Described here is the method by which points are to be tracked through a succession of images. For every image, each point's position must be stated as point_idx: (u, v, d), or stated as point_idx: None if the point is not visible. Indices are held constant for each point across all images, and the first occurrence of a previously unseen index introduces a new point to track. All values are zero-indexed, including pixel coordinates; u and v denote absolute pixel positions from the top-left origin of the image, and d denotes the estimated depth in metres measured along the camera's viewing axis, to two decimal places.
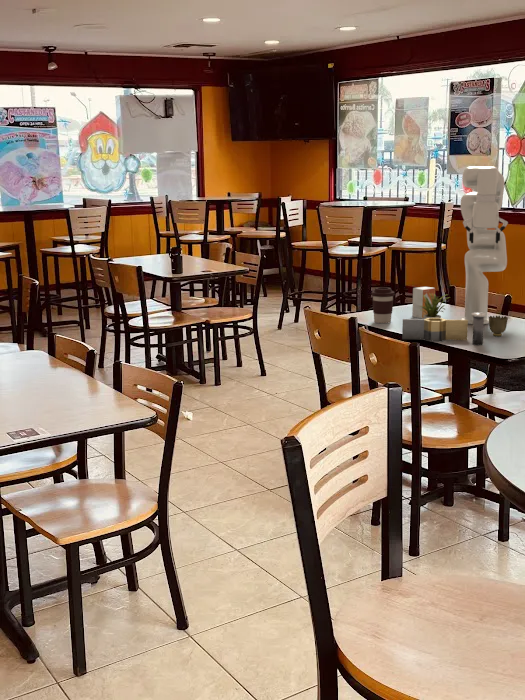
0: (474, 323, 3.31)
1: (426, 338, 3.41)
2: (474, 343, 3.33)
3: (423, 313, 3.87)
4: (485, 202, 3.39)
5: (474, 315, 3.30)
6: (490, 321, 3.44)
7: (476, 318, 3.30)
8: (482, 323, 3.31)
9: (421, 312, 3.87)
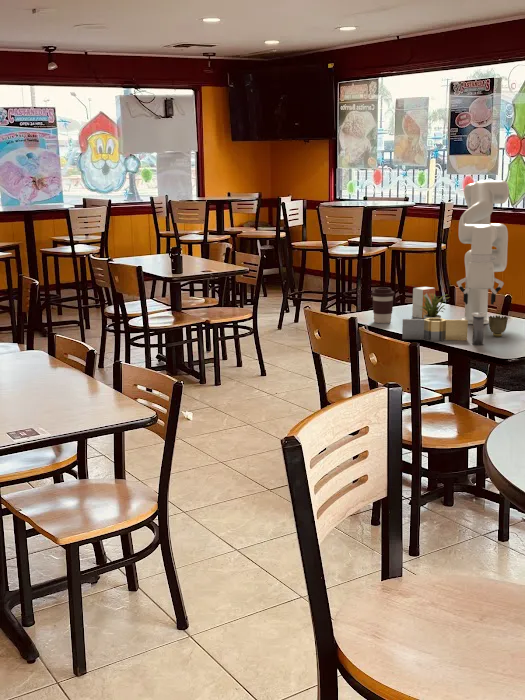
0: (474, 323, 3.31)
1: (426, 338, 3.41)
2: (474, 343, 3.33)
3: (423, 313, 3.87)
4: (480, 262, 3.23)
5: (474, 315, 3.30)
6: (490, 321, 3.44)
7: (476, 318, 3.30)
8: (482, 323, 3.31)
9: (421, 312, 3.87)
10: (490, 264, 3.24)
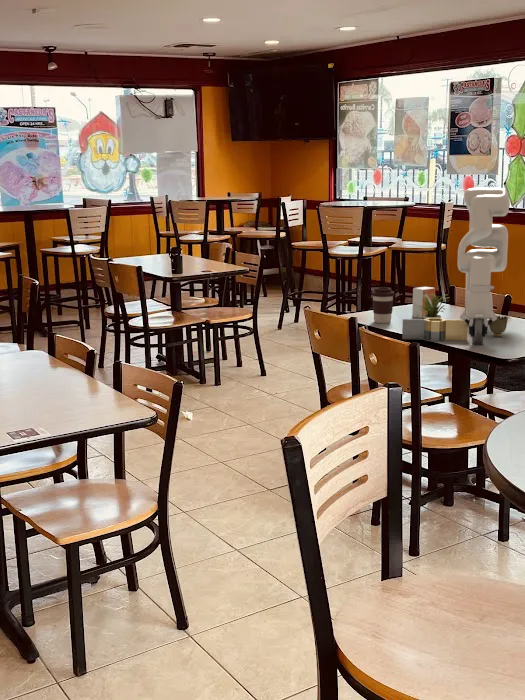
0: (474, 323, 3.31)
1: (426, 338, 3.41)
2: (474, 343, 3.33)
3: (423, 313, 3.87)
4: (479, 293, 3.26)
5: None
6: None
7: (476, 318, 3.30)
8: (482, 323, 3.31)
9: (421, 312, 3.87)
10: (489, 294, 3.27)
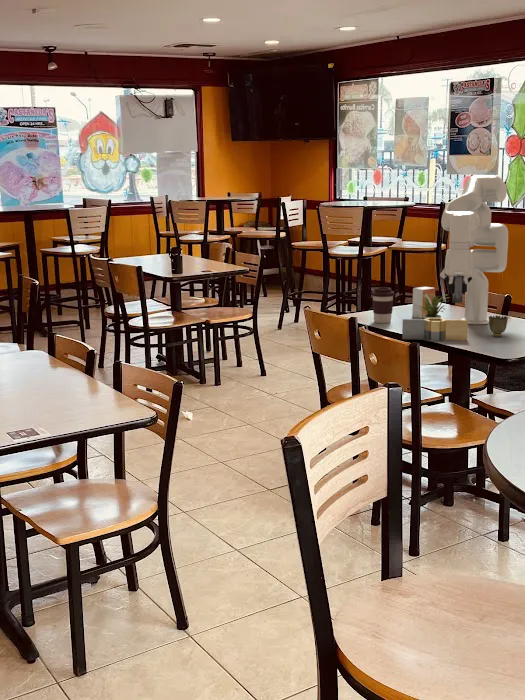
0: (454, 281, 3.32)
1: (426, 338, 3.41)
2: (454, 301, 3.34)
3: (423, 313, 3.87)
4: (458, 250, 3.27)
5: None
6: (490, 321, 3.44)
7: None
8: (462, 280, 3.32)
9: (421, 312, 3.87)
10: (468, 251, 3.28)
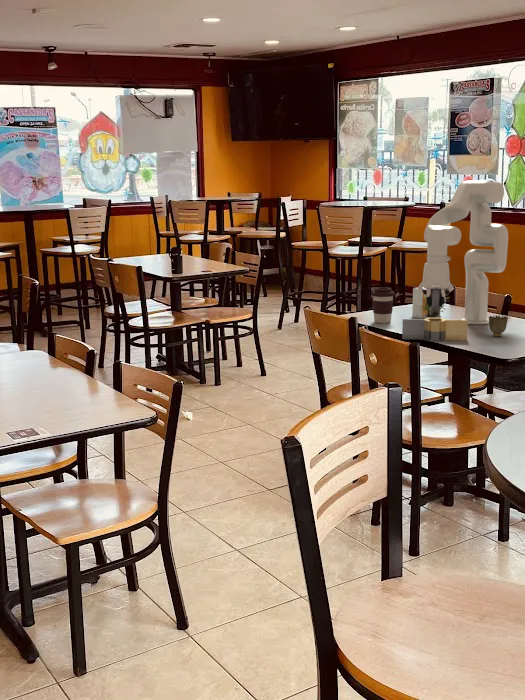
0: (431, 293, 3.38)
1: (426, 338, 3.41)
2: (431, 313, 3.39)
3: (423, 313, 3.87)
4: (435, 263, 3.33)
5: None
6: (490, 321, 3.44)
7: None
8: (439, 293, 3.37)
9: (421, 312, 3.87)
10: (445, 265, 3.34)
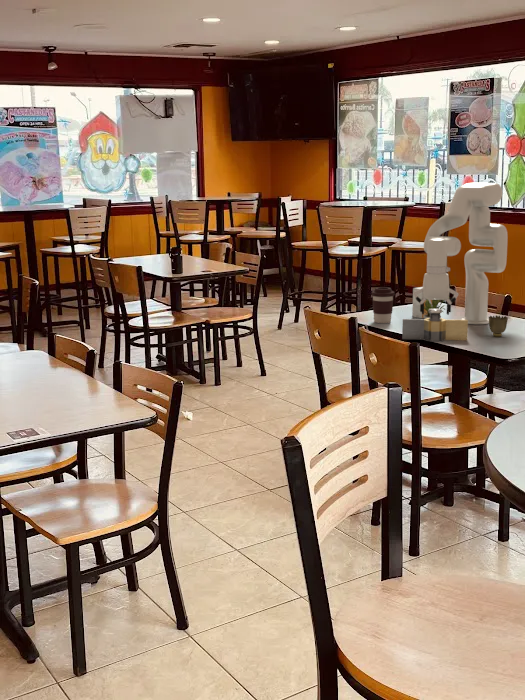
0: (431, 319, 3.40)
1: (426, 338, 3.41)
2: None
3: None
4: (435, 274, 3.34)
5: (430, 311, 3.39)
6: (490, 321, 3.44)
7: (432, 314, 3.39)
8: (438, 319, 3.40)
9: (421, 312, 3.87)
10: (445, 276, 3.35)
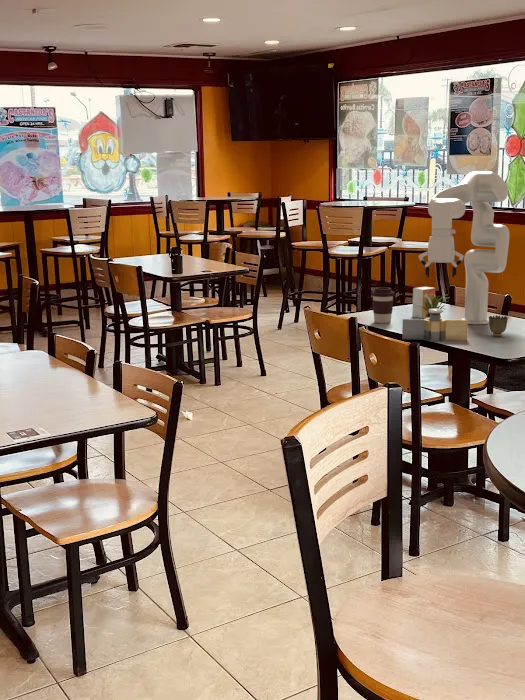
0: (431, 319, 3.40)
1: (426, 338, 3.41)
2: None
3: (423, 313, 3.87)
4: (440, 236, 3.32)
5: (430, 311, 3.39)
6: (490, 321, 3.44)
7: (432, 314, 3.39)
8: (438, 319, 3.40)
9: (421, 312, 3.87)
10: (450, 238, 3.33)
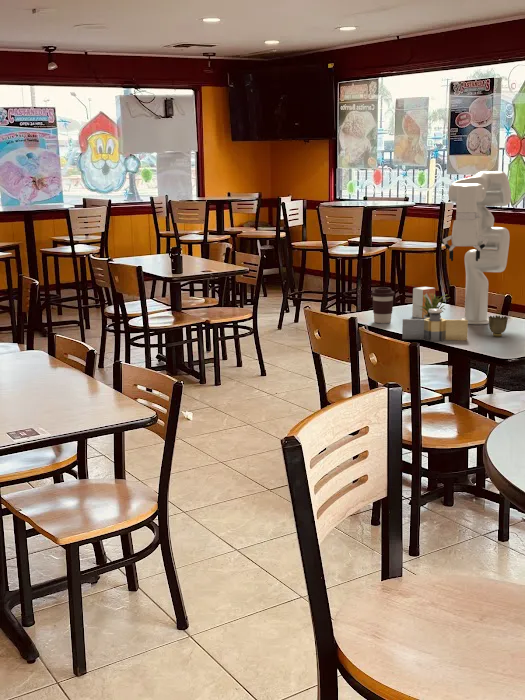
0: (431, 319, 3.40)
1: (426, 338, 3.41)
2: None
3: (423, 313, 3.87)
4: (465, 220, 3.35)
5: (430, 311, 3.39)
6: (490, 321, 3.44)
7: (432, 314, 3.39)
8: (438, 319, 3.40)
9: (421, 312, 3.87)
10: (474, 222, 3.37)
